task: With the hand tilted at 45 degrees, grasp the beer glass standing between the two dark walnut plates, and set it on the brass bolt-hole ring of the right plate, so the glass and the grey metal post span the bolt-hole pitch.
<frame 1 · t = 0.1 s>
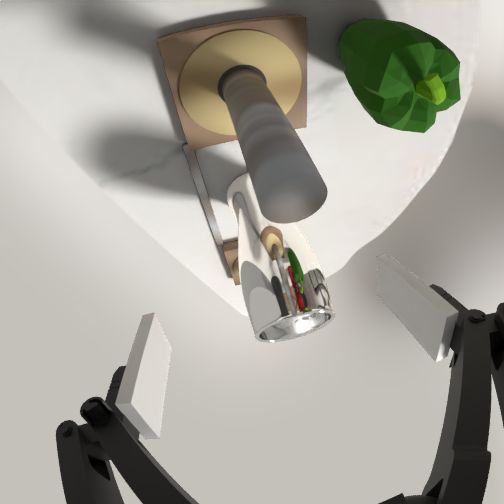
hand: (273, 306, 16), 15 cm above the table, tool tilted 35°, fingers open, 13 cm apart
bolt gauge: (254, 191, 30), on the table
beer glass: (254, 190, 30), on the table
bell pepper: (367, 47, 18), on the table
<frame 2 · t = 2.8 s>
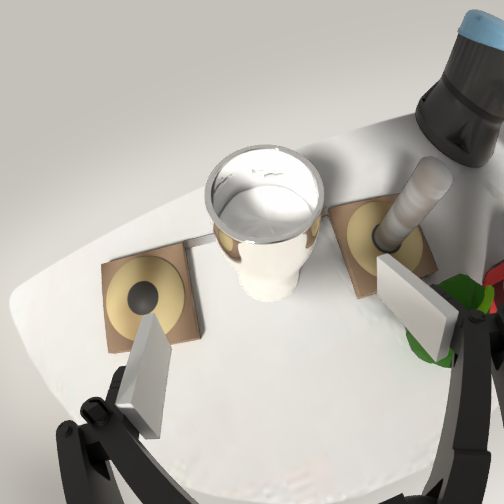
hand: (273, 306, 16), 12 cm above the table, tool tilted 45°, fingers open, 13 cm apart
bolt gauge: (268, 272, 29), on the table
beer glass: (268, 273, 29), on the table
bell pepper: (428, 332, 26), on the table
canned food: (499, 295, 26), on the table
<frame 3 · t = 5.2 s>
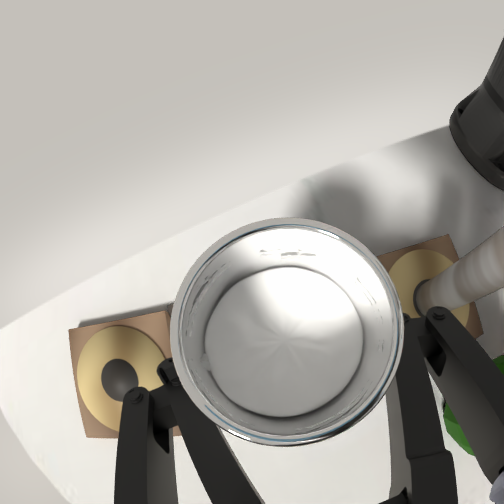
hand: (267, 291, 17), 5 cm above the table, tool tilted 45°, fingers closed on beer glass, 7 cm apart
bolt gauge: (280, 351, 21), on the table
beer glass: (280, 351, 21), on the table, touching gripper
bell pepper: (465, 405, 18), on the table
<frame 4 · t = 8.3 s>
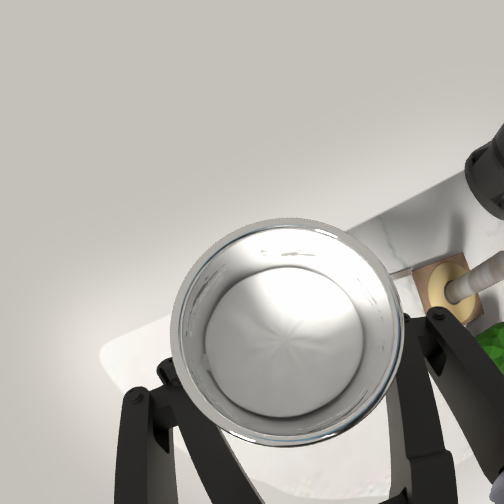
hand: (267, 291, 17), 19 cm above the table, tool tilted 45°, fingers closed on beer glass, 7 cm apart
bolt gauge: (374, 325, 34), on the table
beer glass: (280, 352, 21), point 13 cm above the table, touching gripper
bell pepper: (475, 359, 30), on the table
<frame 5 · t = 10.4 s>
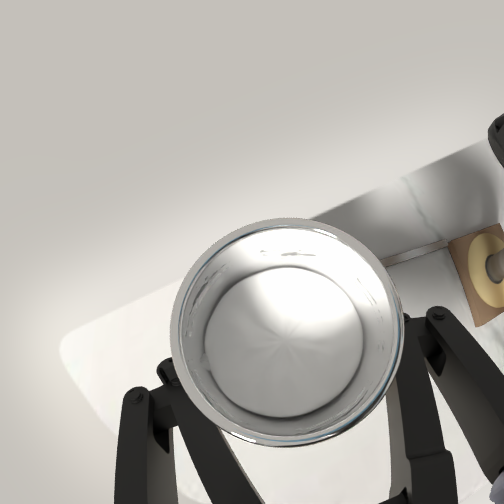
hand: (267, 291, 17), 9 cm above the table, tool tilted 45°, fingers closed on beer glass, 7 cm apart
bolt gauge: (408, 309, 25), on the table
beer glass: (280, 352, 21), point 3 cm above the table, touching gripper
when the fingers open (7 cm above the table, at t = 11.4 s): beer glass stays where it is, resting on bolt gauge.
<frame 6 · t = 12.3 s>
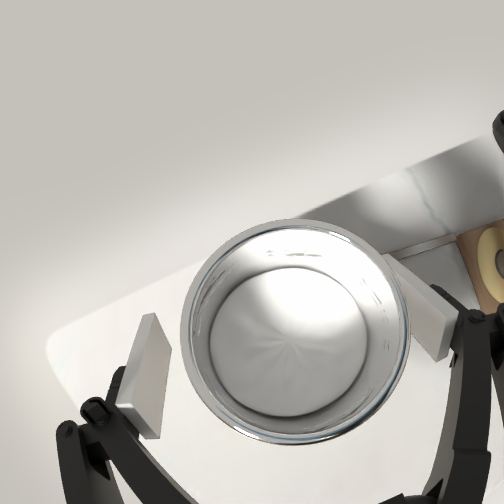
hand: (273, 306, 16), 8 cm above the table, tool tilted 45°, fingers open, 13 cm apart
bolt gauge: (415, 307, 23), on the table
beer glass: (281, 352, 21), point 1 cm above the table, touching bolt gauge
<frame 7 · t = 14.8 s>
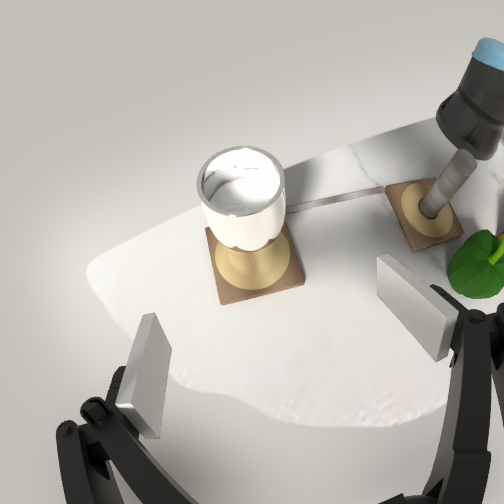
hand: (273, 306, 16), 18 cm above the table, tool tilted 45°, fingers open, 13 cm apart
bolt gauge: (349, 232, 36), on the table
beer glass: (253, 253, 35), point 1 cm above the table, touching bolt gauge
bell pepper: (461, 278, 33), on the table
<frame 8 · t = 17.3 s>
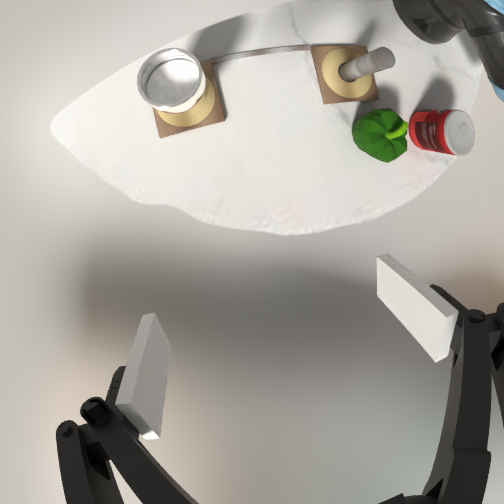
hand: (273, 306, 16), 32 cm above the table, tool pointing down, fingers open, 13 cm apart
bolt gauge: (269, 81, 39), on the table
beer glass: (185, 98, 37), point 1 cm above the table, touching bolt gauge
bell pepper: (366, 134, 44), on the table
canned food: (421, 129, 44), on the table
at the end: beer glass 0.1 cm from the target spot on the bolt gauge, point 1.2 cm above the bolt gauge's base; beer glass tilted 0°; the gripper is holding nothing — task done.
